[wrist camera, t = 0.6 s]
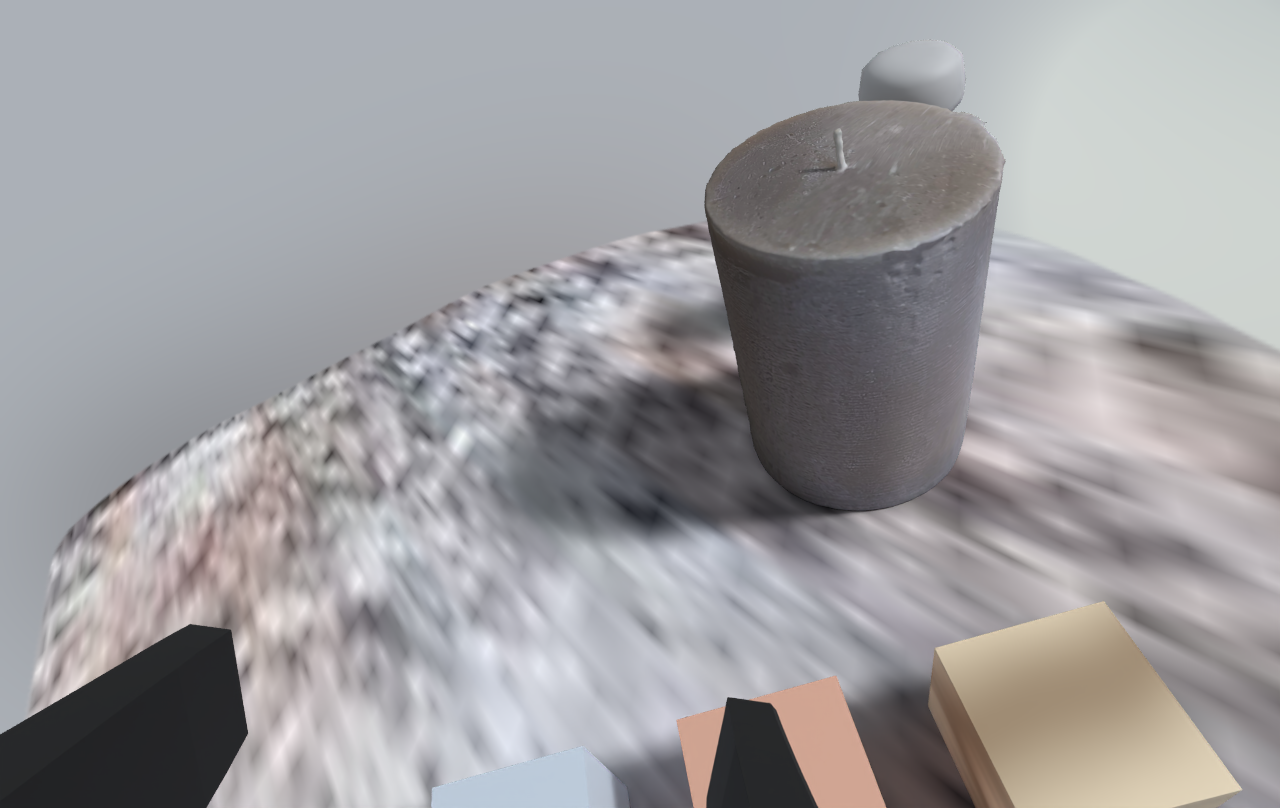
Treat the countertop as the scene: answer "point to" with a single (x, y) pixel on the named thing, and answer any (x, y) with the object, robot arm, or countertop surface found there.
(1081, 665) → the maple block
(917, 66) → the salt shaker
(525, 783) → the blue-grey block
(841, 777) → the terracotta block
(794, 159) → the pillar candle
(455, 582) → the countertop surface
